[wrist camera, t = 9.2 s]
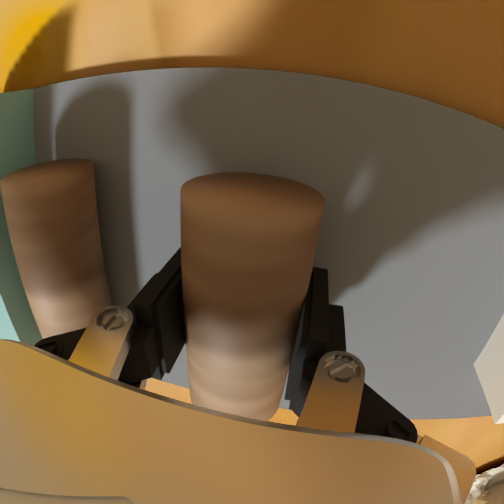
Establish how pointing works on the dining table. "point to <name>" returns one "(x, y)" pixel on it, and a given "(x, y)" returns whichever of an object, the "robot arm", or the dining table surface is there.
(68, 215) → the roller
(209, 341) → the roller
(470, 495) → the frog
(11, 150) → the stop block
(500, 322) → the slab
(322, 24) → the dining table surface
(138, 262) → the mat
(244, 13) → the dining table surface
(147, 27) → the dining table surface
